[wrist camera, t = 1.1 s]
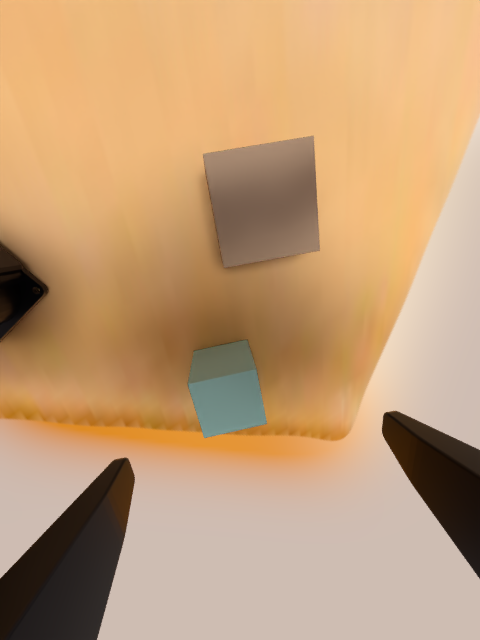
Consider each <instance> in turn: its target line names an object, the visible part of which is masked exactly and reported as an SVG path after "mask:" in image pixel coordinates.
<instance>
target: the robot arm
mask: <svg viewBox="0 0 480 640" xmlns="http://www.w3.org/2000/svg"><path fill="white" fill-rule="evenodd" d="M36 287H37V288H39V289H40V293H39V292H37V290H36ZM46 294H47V287H46V286H45V285H44V284H43V283H42V282H40V281H39V280H38V279H37V278H36V277H34V276H33V275H32V274H31V273H30V272H28V271H27V270H26V269H25V268H24V267H23V266H22V264H21V263H20V262H18V261H17V260H16V259H15V258H14V257H12V256H11V255H10V254H9V253H8V252H6V251H5V250H4V249H3V248H2V247H0V341H1V340H2V339H3V338H4V337H5V336H6V335H7V334H8V333H9V332H10V331H11V330H12V329H13V328H14V327H15V326H16V325H17V324H18V323H19V322H20V321H21V320H22V319H23V318H24V317H25V316H26V315H27V314H28V313H29V312H30V310H31V309H32V308H33V307H34V306H35V305H36V304H37V303H38V302H39V301H40V300H41V299H42V298H43V297H44V296H45V295H46ZM382 433H383V436H384V438H385V440H386V442H387V444H388V445H389V447H390V449H391V450H392V452H393V454H394V455H395V457H396V459H397V460H398V462H399V464H400V465H401V467H402V469H403V470H404V472H405V474H406V475H407V477H408V478H409V480H410V482H411V483H412V485H413V486H414V488H415V489H416V490H417V492H418V493H419V495H420V496H421V497H422V499H423V500H424V502H425V503H426V504H427V506H428V507H429V509H430V510H431V511H432V513H433V514H434V516H435V517H436V518H437V520H438V521H439V523H440V524H441V525H442V527H443V528H444V530H445V531H446V532H447V534H448V535H449V537H450V538H451V539H452V541H453V542H454V544H455V545H456V546H457V548H458V549H459V551H460V552H461V553H462V555H463V556H464V557H465V559H466V560H467V562H468V563H469V564H470V566H471V567H472V568H473V570H474V571H475V573H476V574H477V576H478V577H479V578H480V450H479V449H476V448H474V447H472V446H470V445H468V444H466V443H464V442H462V441H460V440H457V439H455V438H453V437H451V436H449V435H447V434H445V433H443V432H440V431H438V430H436V429H434V428H432V427H430V426H428V425H426V424H423V423H421V422H419V421H417V420H415V419H413V418H411V417H408V416H406V415H404V414H402V413H400V412H397V411H391V412H386V413H384V416H383V425H382ZM134 482H135V477H134V473H133V470H132V467H131V464H130V462H129V460H128V458H120V459H116V460H114V461H112V462H111V463H110V464H109V465H108V467H107V468H106V469H105V470H104V471H103V472H102V473H101V474H100V475H99V476H98V477H97V478H96V479H95V480H94V481H93V482H92V483H91V484H90V485H89V487H88V488H86V490H85V491H84V492H83V493H82V494H81V495H80V496H79V497H78V498H77V499H76V500H75V501H74V502H73V503H72V504H71V505H70V506H69V507H68V508H67V509H66V511H65V512H64V513H63V514H62V515H61V516H60V517H59V518H58V519H57V520H56V521H55V522H54V523H53V524H52V525H51V526H50V527H49V528H48V529H47V530H46V532H44V534H43V535H42V536H41V537H40V538H39V539H38V540H37V541H36V542H35V543H34V544H33V545H32V546H31V547H30V548H29V549H28V550H27V551H26V552H25V553H24V554H23V555H22V557H21V558H20V559H19V560H18V561H17V562H16V563H15V564H14V565H13V566H12V567H11V568H10V569H9V570H8V571H7V572H6V573H5V574H4V575H3V576H2V577H1V578H0V640H97V638H98V634H99V630H100V626H101V623H102V619H103V616H104V612H105V608H106V604H107V600H108V597H109V593H110V590H111V586H112V582H113V578H114V575H115V571H116V567H117V564H118V560H119V556H120V553H121V549H122V545H123V541H124V537H125V532H126V527H127V522H128V516H129V510H130V505H131V499H132V494H133V488H134Z"/></svg>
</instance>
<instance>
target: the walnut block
mask: <svg viewBox="0 0 480 640" xmlns="http://www.w3.org/2000/svg"><path fill="white" fill-rule="evenodd" d="M203 158H204V165H205V172H206V178H207V183H208V188H209V194H210V199H211V204H212V210H213V215H214V220H215V226H216V231H217V236H218V242H219V247H220V252H221V258H222V262H223V266H224V268H227V267H233V266H238V265H243V264H249V263H254V262H260V261H265V260H271V259H276V258H282V257H287V256H293V255H298V254H304V253H309V252H315V251H320V245H319V227H318V208H317V190H316V171H315V153H314V136H309V137H303V138H297V139H291V140H285V141H279V142H273V143H267V144H260V145H254V146H248V147H242V148H236V149H230V150H224V151H218V152H212V153H206V154H203Z"/></svg>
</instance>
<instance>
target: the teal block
mask: <svg viewBox="0 0 480 640" xmlns="http://www.w3.org/2000/svg"><path fill="white" fill-rule="evenodd" d="M188 387H189V390H190V394H191V397H192V400H193V403H194V406H195V410H196V413H197V416H198V419H199V423H200V426H201V429H202V432H203V436H204V438H207V437H211V436H216V435H220V434H225V433H229V432H233V431H238V430H242V429H247V428H251V427H255V426H260V425H264V424H267V421H266V416H265V411H264V406H263V400H262V395H261V390H260V385H259V380H258V374H257V369H256V366H255V363H254V360H253V356H252V353H251V350H250V347H249V344H248V340H242V341H238V342H233V343H228V344H224V345H219V346H215V347H210V348H205V349H201V350H196V351H194V353H193V358H192V364H191V369H190V374H189V380H188Z"/></svg>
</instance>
